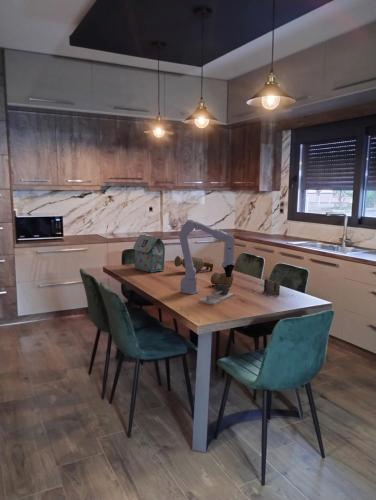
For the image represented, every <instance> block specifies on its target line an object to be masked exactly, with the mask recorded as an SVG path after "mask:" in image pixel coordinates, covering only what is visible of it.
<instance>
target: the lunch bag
mask: <svg viewBox="0 0 376 500" xmlns="http://www.w3.org/2000/svg"><path fill="white" fill-rule="evenodd" d="M133 250H134V269H136V270H138V269H139V271H143V272H147V273H155V272H164V271H165V254H166V248H165V244H164V241H163V240H162V238H161V237H156V236H152V235H147V234H140V235H138V237H137V239H136V241H135V243H134V244H133Z"/></svg>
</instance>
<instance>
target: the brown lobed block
mask: <svg viewBox="0 0 376 500" xmlns="http://www.w3.org/2000/svg"><path fill="white" fill-rule="evenodd" d="M233 275H234V273H233V272H232V274H231V277H226V274H225V272H214V273H213V274H212V275H211V276H210V282H211V284H212V285H216V286H217V285H218V284H223V285H228V289H230V288H231V287H232V285H233V281H234V276H233Z"/></svg>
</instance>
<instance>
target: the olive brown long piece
mask: <svg viewBox="0 0 376 500" xmlns="http://www.w3.org/2000/svg"><path fill="white" fill-rule="evenodd" d="M191 257H192V261H193V264H194V267H195V268H196V272H197V271H201V270H202V269H203V268H204V267H205V270H206V271H207V270H208V271H210V272H213V269H214V263H210V262H207V261H204V260H203V258H202V257H195V256H191ZM181 265H182V267H183V268H184V269H185V261H184V258H181V257H180V255H177V256H175V258H174V266H175V268H176V267H180V266H181Z"/></svg>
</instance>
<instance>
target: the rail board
mask: <svg viewBox="0 0 376 500" xmlns="http://www.w3.org/2000/svg"><path fill="white" fill-rule="evenodd" d="M222 292H223V290H220V291H218V292H217V291H216V292H213V293H211V294H209V295H208V294H207V295H206V296H205V297H202V298H200V299H198V300H199V301H198V302H199V303H202V304H208V305H212V306H215V305H217V304H220V303H222V302H224V301H226V300H228V299H231V298H232V297H234V296H235V293H234V292H229V291H228V294H227V295H224V294H220V293H222Z"/></svg>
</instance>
